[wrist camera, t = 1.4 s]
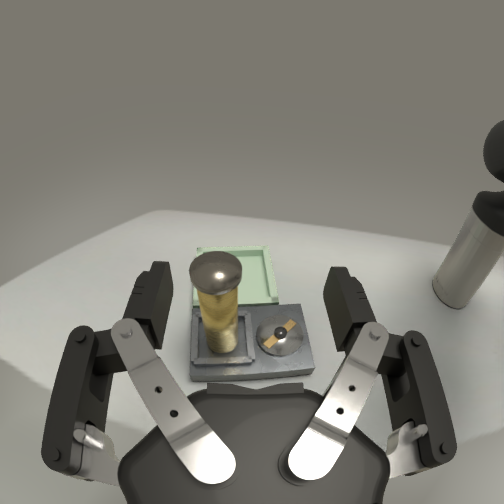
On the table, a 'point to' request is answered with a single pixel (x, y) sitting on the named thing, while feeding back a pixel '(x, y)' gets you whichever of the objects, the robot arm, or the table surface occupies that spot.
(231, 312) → the pin
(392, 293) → the table surface
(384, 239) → the table surface
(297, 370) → the crank deck
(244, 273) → the tray
